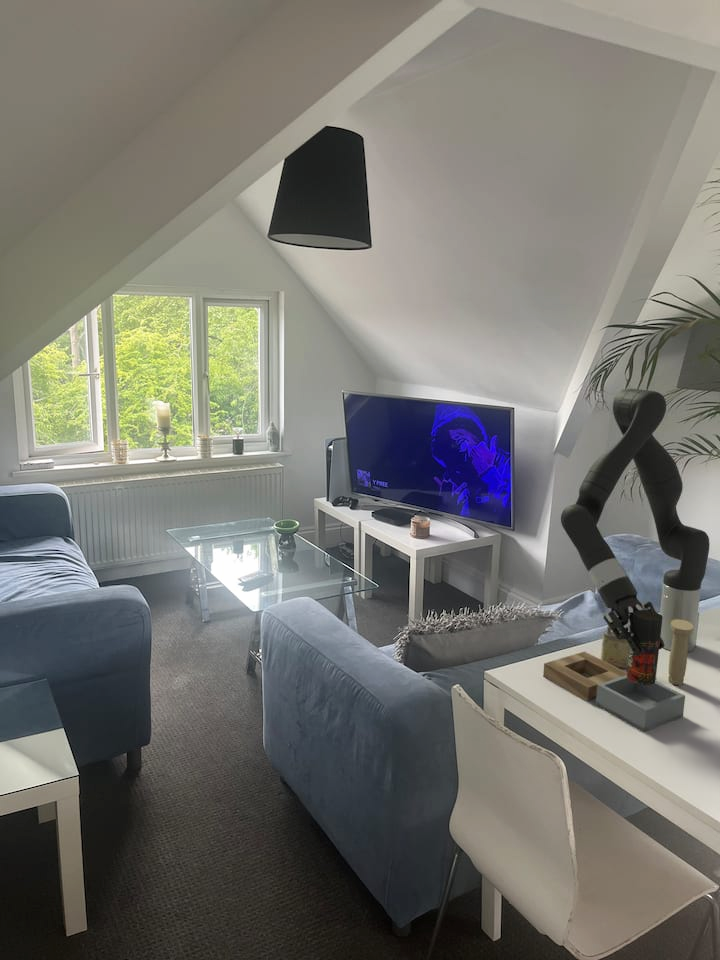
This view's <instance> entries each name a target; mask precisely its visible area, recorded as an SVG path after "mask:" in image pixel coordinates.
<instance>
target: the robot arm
mask: <svg viewBox="0 0 720 960" xmlns="http://www.w3.org/2000/svg"><path fill="white" fill-rule="evenodd" d="M612 412H613V417H614V419H615V423H616V424H617V426H618V428H619V430H620V432H621V434H622V436H621V437H620V438H619V440H617V442H616V443H614V445H612V446H611V447H609V449H607V450H606V451H605V452H604V453H603V454H601V455H600V456H599V457H598V458H597V459H596V460H595V462H593V464H592V465H591V467H590V468H589V469H588V472H587V473H586V475H585V477H584V479H583V480H582V482H581V484H580V486H579V489H578V490H579V491H578V497H577V500H576V501H575V504H574V503H573V504H569V505H568V506H566V507H565V508H564V509H563V511H562V512H561V515H560V524H561V527H562V528H563V529H564V531H565V533H566V534H567V537H568V538H569V540H570V541H571V543H572V544H573V545H574V547H575V549H576V551H577V552H578V554H579V557H580V560H581V561H582V563H583V565H584V567H585V569H586V570H587V572H588V574H589V576H590V579H591V582H592V583H593V585H594V587H595V589H596V591H597V593H598V594H599V596H600V598H601V600H602V602H603V604H604V605H605V607H606V608H607V609H610V610H611V611H609V612H608V613H606V614H604V615H603V619H604V621H605V622H606V624H607V626H608V625H609V627H610V628H611V631H612V632H613V633H614V634H615V636H616V637H617V638H618V639H619V640H620V639H624V640H626V641H627V642H628V643H629V645H630V647H631V649H632V651H633V652H634V653H635V654H636V656H640V655H642V654H643V653H645V650H644V648H643V647H642V645H641V643H640V641H639V640H638V638H637V636H636V637H635V631H634V628H633V626H634V624H633V613H634V611H637V610H648V611H653V612H656V613H657V611H656V610H655V609H656V608H654V604H653V603H652V602H651V601H647V602H646V603H642V602H641V601H640V600H638V598H637V596H638V591H637V590H636V588H635V586H634V584H633V582H632V580H631V579H630V577H629V576H628V574H627V572H626V570H625V569H624V567H623V565H622V564H621V563H620V561H619V560H618V559H617V556H616V555H615V553H614V551H613V550H612V549H611V547H610V545H609V544H608V543H607V541H606V539H605V538H604V537H603V536H602V534H601V531H600V530H599V528H598V526H597V525H598V523H599V521H600V518H601V516H602V513H603V512H604V511H603V510H604V509H605V505H606V503H607V501H608V499H609V498H610V496H611V494H612V493H613V491H614V489H615V487H616V486H617V483H618V482H619V480H620V478H621V476H622V474H624V471H625V470H626V469H627V467H628V466H629V464H630V463H631V462H632V461H633V462H634V464H635V467H636V470H637V472H638V476H639V479H640V481H641V484H642V485H641V486H642V488H643V491H644V493H645V495H646V497H647V501H648V504H649V506H650V511H651V513H652V516H653V521H654V524H655V529H656V533H657V537H658V538H657V539H658V542H659V545H660V548H661V550H662V552H663V553H664V554H665V555H666V556H668V557H670V558H673V559H675V560H679V561H680V565H679V569H671V570H667V571H666V572H665V573H664V575H663V582H662V589H661V590H662V591H661V599H660V609H659V610H660V611H659V614H660V615H662V617H663V619H662V628H661V636H660V645H659V650H661V649H663V648H664V649H666V650H668V651H671V646H672V640H673V633H674V632H673V631H672V630H671V629H670V625H671V621H672V620H675V619H679V620H685V621H688V622H690V623H691V624H692V625H693V632H692V634H689V635H688V648H687V653H688V652H691V651H693V650H694V649H695V646H696V645H697V639H698V629H699V620H700V612H699V607H700V595H701V587H702V583H703V580H704V578H705V575H706V569H707V563H708V558H709V552H710V545H711V544H710V538H709V535H708V533H707V532H706V531H704V530H703V529H698V528H696V527H693V526H690V525H689V526H688V525H684V524H683V523H682V522H681V520H680V517H679V515H678V511H677V505H678V503H679V501H680V498H681V495H682V493H683V489H684V488H683V487H684V486H683V484H684V483H683V481H682V477H681V475H680V471H679V467H678V466H677V465H678V464H677V463H676V460H674V458H673V457H672V456H671V454H670V453H669V451H667V450H666V448H665V447H664V446H663V445H662V444H661V443H660V442H659V441H658V439H656V437H654V435H653V434H654V432H656V429H658V427H659V426H660V424H661V422H663V420H664V418H665V416H666V413H667V402H666V399H665V397H664V395H663V394H662V393H660V392H658V391H655V390H646V389H639V388H638V389H637V388H625V389H621V390H620V391H618V392H617V393H616V395H615V396H614V398H613V403H612ZM617 627H618V628H619V629H620V632H619V631H618V629H617Z"/></svg>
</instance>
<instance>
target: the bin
mask: <svg viewBox="0 0 720 960" xmlns="http://www.w3.org/2000/svg"><path fill="white" fill-rule="evenodd" d="M685 701H686V695H685V694H683V693H681V692H678V691H677V690H675V689H673V688H671V687H669V686H666V685H664V684H662V683H660V682H658V681H656V680H655V683H654V684H652V685H640V684H636V683H634V682H632V681H630V680H629V679H628V678H627V675H625V676H622V677H619V678H616V679H613V680H610V681H607V682H604V683H601V684H598V685H597V696H596V699H595V706H597V707H598V708H600V709H602V710H604V711H606V712H608V713H609V714H611V715H613V716H615V717H616V718H618V719H620V720H621V721H624V722H625V723H627V724H629V725H631V726H632V727H634V728H636V729H637V730H640V731H641V732H643V733H645V732H647V731H650V730H652V729H655V728H658V727H659V726H662V725H666V724H667V723H670V722H672V721H676V720H677V719H680V718H682V717H684V712H685V711H684V710H685V704H686V703H685Z"/></svg>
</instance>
